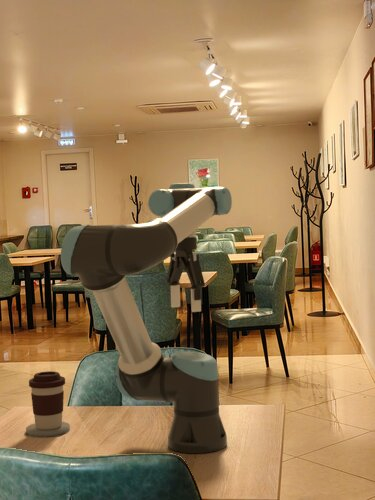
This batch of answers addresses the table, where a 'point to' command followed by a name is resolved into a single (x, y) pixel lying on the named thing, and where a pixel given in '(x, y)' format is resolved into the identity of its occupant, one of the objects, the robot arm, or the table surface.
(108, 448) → the table surface
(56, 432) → the slate coaster
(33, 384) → the coffee cup
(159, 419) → the table surface
